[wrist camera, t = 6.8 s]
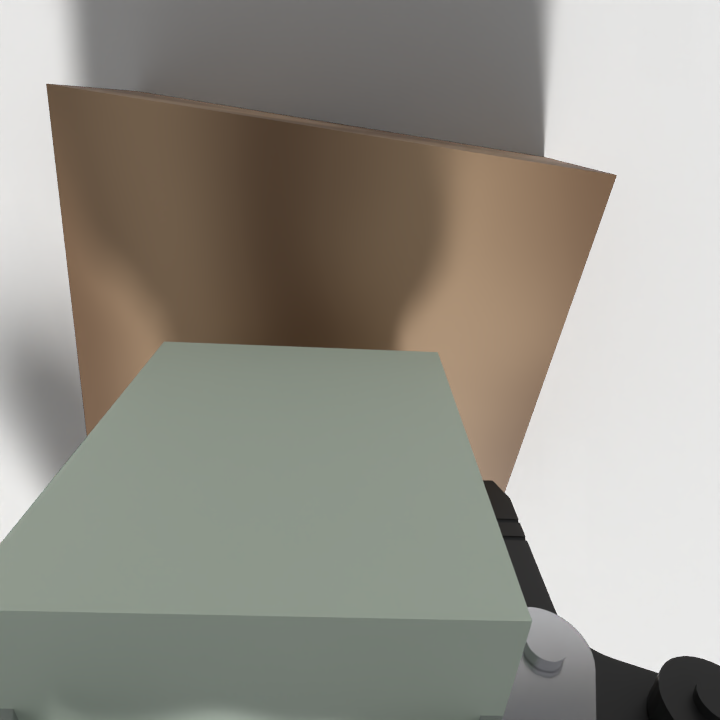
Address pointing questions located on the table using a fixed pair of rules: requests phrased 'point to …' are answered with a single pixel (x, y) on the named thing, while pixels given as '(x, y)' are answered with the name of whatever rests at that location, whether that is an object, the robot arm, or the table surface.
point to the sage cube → (265, 550)
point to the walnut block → (317, 247)
